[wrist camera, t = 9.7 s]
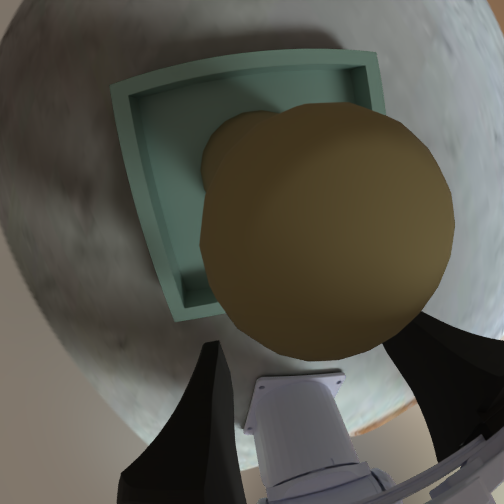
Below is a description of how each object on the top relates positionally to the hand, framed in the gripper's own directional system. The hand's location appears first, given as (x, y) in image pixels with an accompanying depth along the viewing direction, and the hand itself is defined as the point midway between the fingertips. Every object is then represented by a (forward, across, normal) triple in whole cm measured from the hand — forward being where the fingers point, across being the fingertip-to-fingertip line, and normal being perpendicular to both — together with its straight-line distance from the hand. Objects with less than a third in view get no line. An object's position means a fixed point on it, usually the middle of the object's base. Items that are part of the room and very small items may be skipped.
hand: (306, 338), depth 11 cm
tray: (+6, 0, -6) cm, 9 cm away
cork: (+6, 0, -6) cm, 8 cm away
